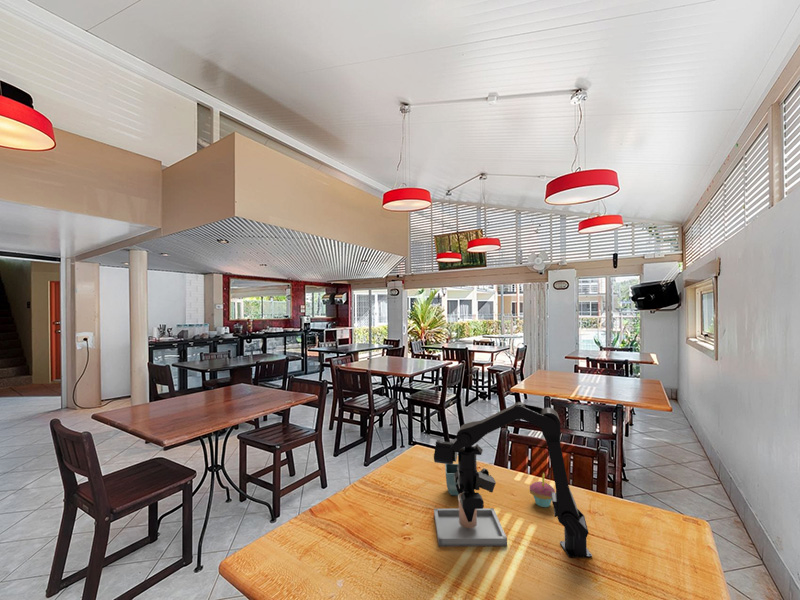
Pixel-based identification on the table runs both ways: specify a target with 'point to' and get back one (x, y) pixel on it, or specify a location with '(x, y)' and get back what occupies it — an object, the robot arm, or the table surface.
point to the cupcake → (542, 492)
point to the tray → (469, 529)
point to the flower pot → (451, 478)
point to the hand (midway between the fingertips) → (468, 516)
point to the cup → (462, 516)
